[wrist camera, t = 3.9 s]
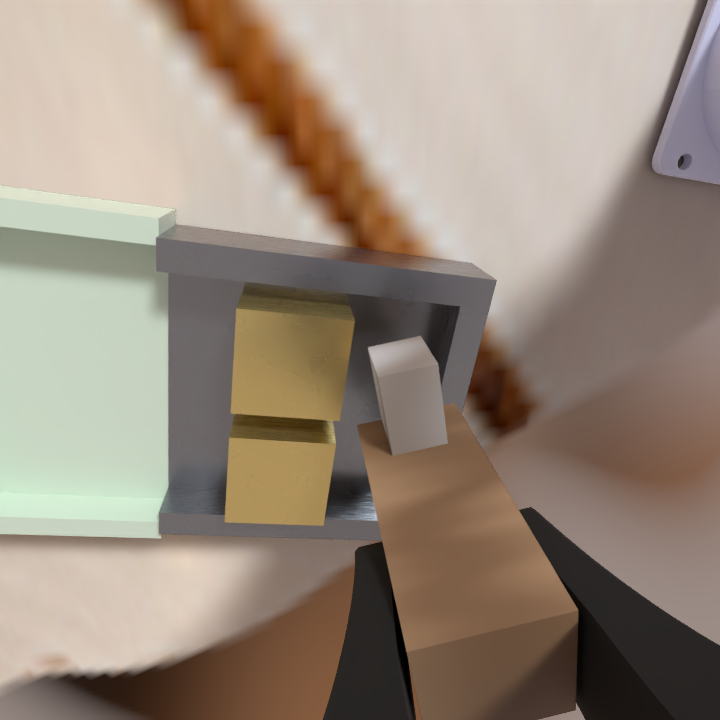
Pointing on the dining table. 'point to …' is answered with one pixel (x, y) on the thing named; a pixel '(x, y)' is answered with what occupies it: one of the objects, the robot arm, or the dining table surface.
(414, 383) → the brown block with peg
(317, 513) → the chip
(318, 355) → the brushed gold cube
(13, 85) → the dining table surface
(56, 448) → the tray
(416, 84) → the dining table surface
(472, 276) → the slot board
